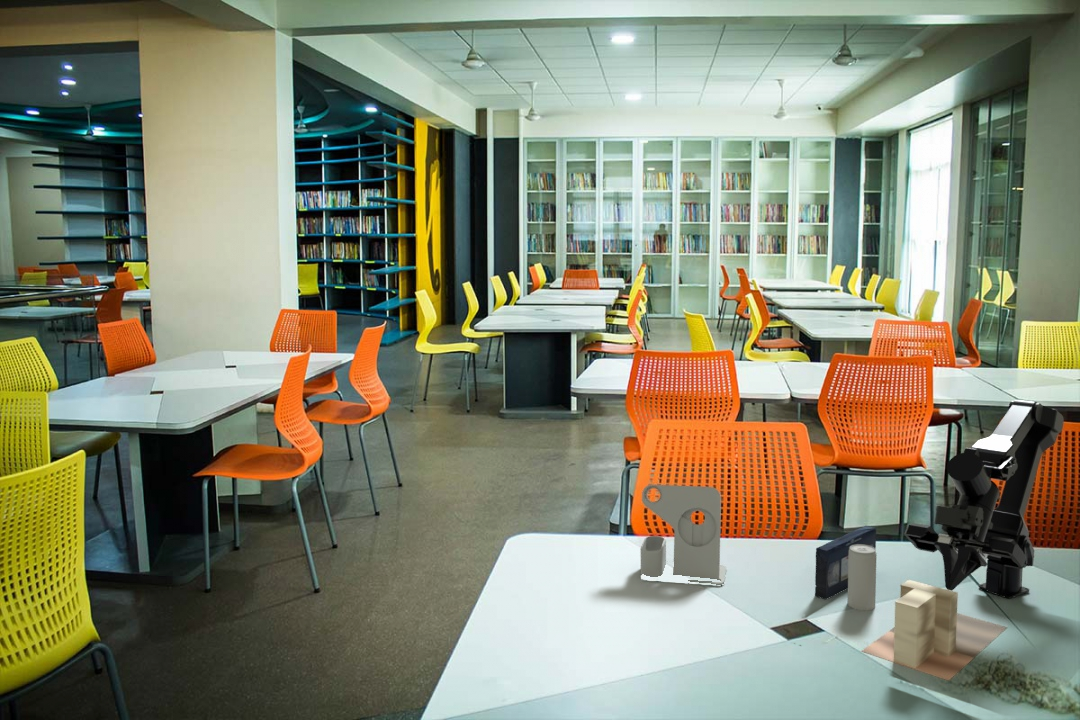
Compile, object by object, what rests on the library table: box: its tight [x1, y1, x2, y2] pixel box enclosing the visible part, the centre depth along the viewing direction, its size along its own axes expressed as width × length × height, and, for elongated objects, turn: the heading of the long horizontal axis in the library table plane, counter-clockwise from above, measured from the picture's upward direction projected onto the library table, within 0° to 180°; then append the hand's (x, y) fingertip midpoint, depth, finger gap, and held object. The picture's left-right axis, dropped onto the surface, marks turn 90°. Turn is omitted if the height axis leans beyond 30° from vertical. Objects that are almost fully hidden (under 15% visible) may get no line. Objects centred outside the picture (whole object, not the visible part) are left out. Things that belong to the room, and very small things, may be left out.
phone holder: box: [640, 483, 727, 585], centre depth 180 cm, size 17×10×18 cm, turn 75°
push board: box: [861, 612, 1008, 681], centre depth 147 cm, size 25×14×1 cm, turn 134°
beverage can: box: [847, 544, 878, 611], centre depth 161 cm, size 5×5×12 cm
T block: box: [894, 579, 959, 668], centre depth 141 cm, size 10×8×10 cm
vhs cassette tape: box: [814, 525, 877, 600], centre depth 173 cm, size 18×3×10 cm, turn 129°
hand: (948, 589), depth 149 cm, fingers closed
